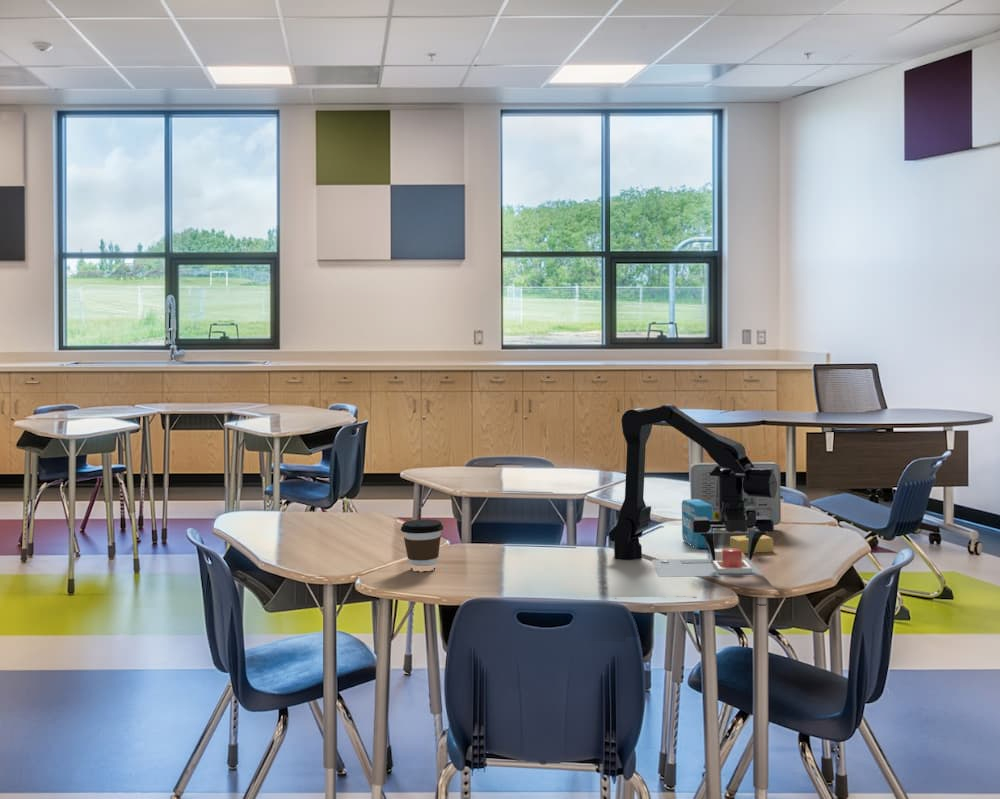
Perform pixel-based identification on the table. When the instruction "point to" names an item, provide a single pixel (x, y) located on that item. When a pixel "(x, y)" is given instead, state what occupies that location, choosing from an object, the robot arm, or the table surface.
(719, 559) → the block
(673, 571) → the breaker panel
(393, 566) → the table surface
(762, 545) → the rubber stamp
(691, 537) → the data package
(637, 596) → the table surface
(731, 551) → the cap
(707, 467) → the network device
